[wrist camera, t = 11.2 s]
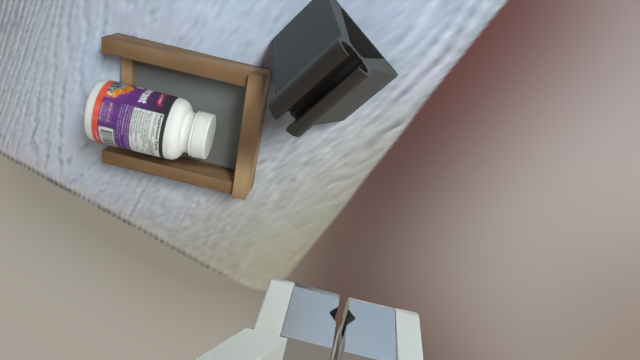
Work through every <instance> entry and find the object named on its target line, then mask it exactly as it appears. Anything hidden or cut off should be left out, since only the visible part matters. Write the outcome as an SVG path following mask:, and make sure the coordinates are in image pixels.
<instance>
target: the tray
mask: <svg viewBox="0 0 640 360" xmlns="http://www.w3.org/2000/svg"><path fill="white" fill-rule="evenodd" d="M101 40H102V52H103V53H107V54H111V55H116V56H120V57H121V83H124V84H128V85H132V86H135V60H136V61H141V62H145V63H149V64H153V65H157V66H161V67H165V68H170V69H174V70H178V71H182V72H186V73H190V74H195V75H199V76H203V77H207V78H211V79H215V80H219V81H224V82H228V83H232V84H236V85H240V86H244V87H247V89H246V97H245V104H244V111H243V119H242V126H241V133H240V141H239V148H238V155H237V163H236V170H234V169H230V168H226V167H222V166H217V165H213V164H209V163H205V162H201V161H197V160H193V159H189V158H185V157H181V156H180V157H178V158H176V159H172V160H171V159H165V158H160V157H156V156H152V155H148V154H144V153H140V152H136V151H132V150H127V149H123V148H119V147H115V146H111V145H110V146H108V147H107V148H105V149H104V150H102V162H104V163H108V164H112V165H116V166H120V167H124V168H128V169H132V170H136V171H140V172H144V173H149V174H153V175H157V176H161V177H165V178H169V179H173V180H177V181H181V182H185V183H189V184H193V185H197V186H201V187H205V188H209V189H213V190H217V191H221V192H225V193H230V194H232V197H234V198H238V199H242V200H245V199H246V197H247V195H248V193H249V192H250V190H251V188H252V187H253V183H254V177H255V171H256V164H257V158H258V152H259V145H260V139H261V133H262V126H263V120H264V114H265V108H266V101H267V95H268V89H269V82H270V76H271V70H270V69H266V68H262V67H257V66H253V65H249V64H245V63H241V62H236V61H232V60H228V59H224V58H220V57H216V56H211V55H207V54H203V53H199V52H195V51H191V50H186V49H182V48H178V47H174V46H170V45H165V44H161V43H157V42H153V41H149V40H145V39H140V38H136V37H132V36H128V35H124V34H120V33H116V34H112V35H108V36H105V37H101Z"/></svg>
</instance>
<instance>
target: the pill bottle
mask: <svg viewBox="0 0 640 360" xmlns="http://www.w3.org/2000/svg"><path fill="white" fill-rule="evenodd" d="M84 129H85V133H86V135H87V137H88V138H89V139H90V140H92V141H95V142H99V143H102V144H106V145H111V146H115V147H119V148H123V149H127V150H132V151H136V152H140V153H144V154H148V155H152V156H156V157H160V158H165V159H171V160H172V159H176V158H178V157H180V156H181V155H182V153H183V152H186V153H188V155H189V156H192V157H195V158H201V159H206V158H207V156H208V154H209V152H210V149H211V147H212V143H213V139H214V135H215V129H216V115H214V114H211V113H207V112H204V111H202V112H201V111H198V112H197V113H195V112H193V110H192V106H191V104H190V103H189V102H188V101H187V100H186V99H183V98H180V97H176V96H173V95H168V94H164V93H160V92H156V91H152V90H148V89H144V88H140V87H137V86H132V85H128V84H124V83H120V82H116V81H112V80H101V81H99V82H98V83H97V84H96V85H95V86H94V87H93V89H92V90H91V92H90V94H89V96H88V99H87V102H86V106H85V111H84Z"/></svg>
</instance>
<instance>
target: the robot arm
mask: <svg viewBox="0 0 640 360" xmlns="http://www.w3.org/2000/svg"><path fill="white" fill-rule="evenodd" d="M338 303H339V295H338V294H334V293H331V292H327V291H324V290H319V289H316V288H312V287H309V286H305V285H301V284H298V283H295V286H294V283H293V282H289V281H286V280H282V279H278V278H274V277H272V279H271V280H270V282H269V285H268V288H267V290H266V293H265V296H264V299H263V301H262V305H261V307H260V310H259V313H258V315H257V318H256V321H255V324H254V326H253V329H248V328H245V329H243V330H241V331H240V332H238V333H236V334H235V335H233V336H232V337H230V338H228V339H227V340H225V341H224V342H222V343H221V344H219V345H217V346H216V347H214V348H212V349H211V350H209V351H207V352H206V353H204V354H203V355H201V356H199V357H198V358H196V359H195V360H329V357H330V354H331V350H332V346H333V339H334V332H335V326H336V322H335V316H336V312H337V309H338ZM332 360H423V353H422V342H421V332H420V323H419V316H418V314H417V313H415V312H411V311H406V310H402V309H397V308H391V307H386V306H382V305H378V304H374V303H370V302H366V301H362V300H358V299H353V298H348V300H347V303H346V306H345V309H344V314H343V322H342V325H341V326H340V327H339V330H338V333H337V337H336V341H335V345H334V349H333V354H332Z"/></svg>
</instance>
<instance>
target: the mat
mask: <svg viewBox="0 0 640 360" xmlns="http://www.w3.org/2000/svg"><path fill="white" fill-rule="evenodd" d="M135 86H137V87H140V88H144V89H148V90H152V91H156V92H160V93H164V94H168V95H173V96H176V97H180V98H183V99H186V100H187V101H188V102H189V103H190V104H191V106H192V110H193V112H195V113H197V112H198V111H201V112H202V111H204V112H207V113H211V114H214V115H216V129H215V135H214V139H213V143H212V147H211V149H210V152H209V154H208V156H207V158H206V159H201V158H195V157H192V156H189V155H188V153H186V152H183V153H182V155H181V156H182V157H187V158H191V159H195V160H199V161H203V162H207V163H211V164H215V165H219V166H223V167H227V168H231V169H235V170H236V163H237V155H238V148H239V141H240V133H241V126H242V119H243V111H244V104H245V97H246V89H247V87H244V86H240V85H236V84H232V83H228V82H224V81H219V80H215V79H211V78H207V77H203V76H199V75H195V74H190V73H186V72H182V71H178V70H174V69H170V68H165V67H161V66H157V65H153V64H149V63H145V62H141V61H136V60H135Z"/></svg>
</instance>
